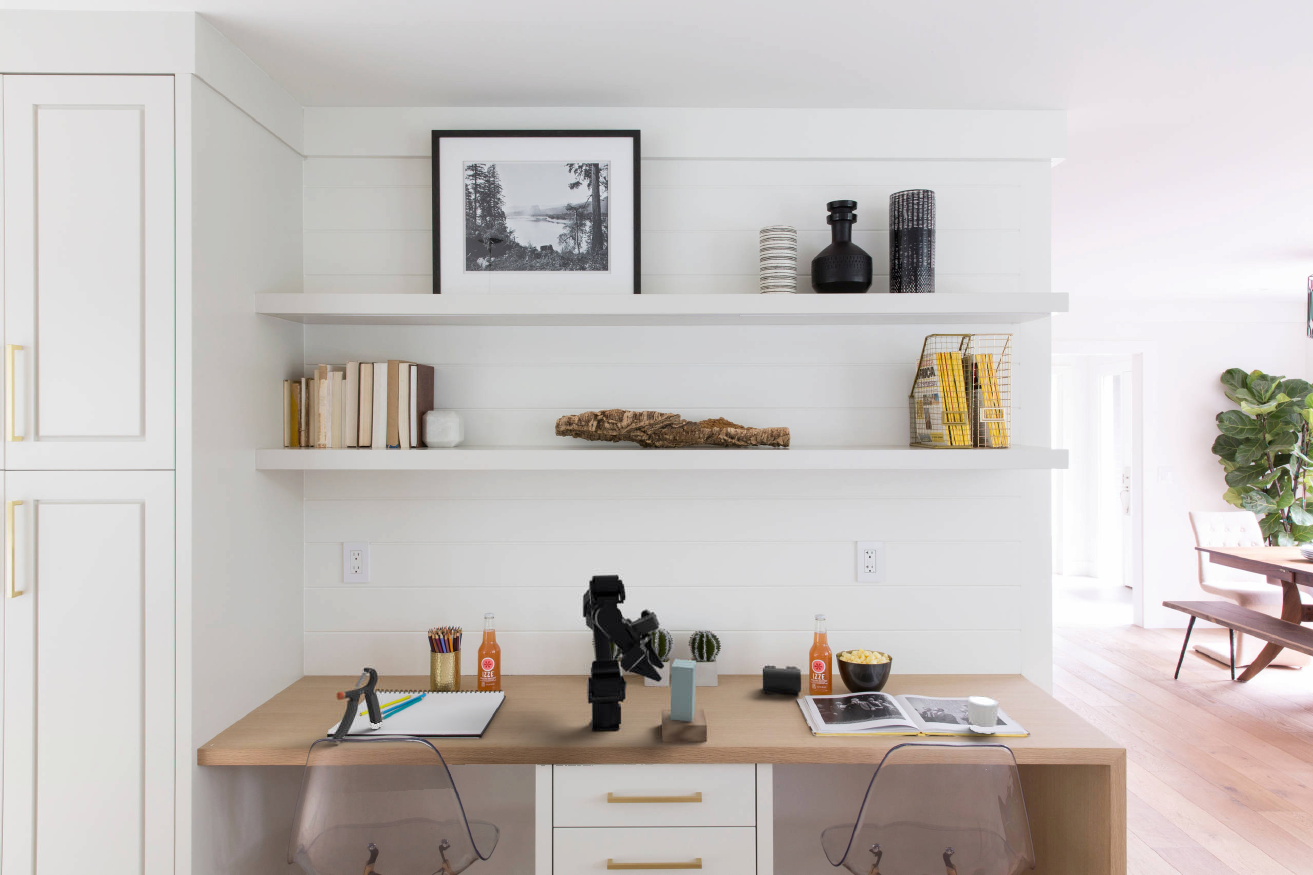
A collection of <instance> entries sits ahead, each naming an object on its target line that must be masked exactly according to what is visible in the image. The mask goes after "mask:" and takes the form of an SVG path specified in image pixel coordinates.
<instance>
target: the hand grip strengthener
mask: <svg viewBox="0 0 1313 875" xmlns="http://www.w3.org/2000/svg"><path fill="white" fill-rule="evenodd" d="M367 674H369V679H368V681H367V683H366V684H365V685H364V686H362V684H363V682H364V681H365V679H366V677H367ZM378 676H379V675H378V672H377V671H376V669H375V668H372V667H364V668H363V672H362V673H361V675H360V677H359V679H358V680H357V682H356V684H355V689H352V690H347V691H339V692H337V693H336V698H337V700H338V701H339V700H340V701H342V700H345V699H348V700H347V703H346V710H345V713H344V715H343V717H342V719H341V721H340V723H339V725H338V727H337V729H336V731H335V732H334V733H333V735H332V737H331V738H332V739H343V737H344V736H345V735H346V734H347V735H348V733H349V732H350V730H351V727H352V725H353V723H354V720H355V718H356V716H357V712H358V710H359V702H360V698H361V695H362V694H363V695H364V699H365V700H364V701H365V703H366V708H367V713H368V718H369V723H370V722H371V723H374V724H377V723H380V722H382V723H383V718H382V711H381V706H380V702H379V697H378V694H377V693H376V692H375V687H376V685H377V683H378V681H379V680H378V679H379V678H378ZM361 686H362V687H361ZM347 735H346V736H347ZM343 740H344V739H343Z"/></svg>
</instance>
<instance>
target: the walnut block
mask: <svg viewBox="0 0 1313 875" xmlns="http://www.w3.org/2000/svg"><path fill="white" fill-rule="evenodd" d="M670 715H671V708H669V709H668V708H667V709H661V735H662V736H661V737H662V738H661V739H662V742H707V741H708V735H707V734H708V724H707V721H706V720H707V719H706V715H705V710H704V709H703V708H702V709H701V708H700V709H699V708H695V714H694V717H693V720H692V722H689V721H679V720H670Z"/></svg>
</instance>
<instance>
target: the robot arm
mask: <svg viewBox="0 0 1313 875" xmlns="http://www.w3.org/2000/svg"><path fill="white" fill-rule="evenodd" d="M619 577H620V576H619V575H618V574H607V575H605V574H603V575H600V574H599V575H598V574H597V575H592V576H591V579H590V580H589V581H588V588H587V590H586V592H584V594H583V596H582V618H585V626H586V627H587V628H589V629H590V630H592V640H593V642H592V643H593V653H594V660H592V663H591V667H590V676H589V677H587V686H586V687H587V688H586V693H587V694H586V695H587V697H586V698H587V703H588V704H589V705H590V704H591V720H590V721H591V722H590V723H591V731H593V732H594V731H595V732H596V731H597V732H598V731H599V732H600V731H613V730H614V731H617V730H620V725H621V724H622V705H621V703H624V701H625V700H626V693H627V692H626V690H627V689H626V688H627V681H626V680H625V678H624V675H622V674H621V669H622V670H623V671H624V672H629V673H632V674H636V675H640V676H642V677H644V678H646V679H650V680H652V681H655V682H659V683H660V681H661V680H662V676H661V675H660V673H659V672H658V670H657V669H656V668H658V669H660V670H662V669H663V668H665V665H664V663H663V661H662V659H661V658H660V656H659V654H658V653H657V651H656V649H655V648H654V646H653V635H652V632H655V631H656V630H658V629H659V628H660V622H659V620H658V618H657V614H656V613H655V612H654V611H652V612H651V611H650V610H649V609H648V608H647V609H644V610H642V611H641V613H640V617H638V618H637V619H635V620H634V621H633V620H632V619H631V618H628V617H627V618H625V617H624V616H623V614H622V611H621V610H620V608H619V607H618V604H619V605H621V604H624V602H625V601H626V598H627V597H626V595H627V594H626V590H625V584H624V583H623V580H622V579H620V578H619ZM611 643H613V644H615V645H616V647H617V648H618V649H619V650H620V655H622V656H621V658H620V662H619V661H618V659H613V656H612V655H613V654H612V647H611ZM620 667H621V668H620ZM619 702H621V703H619Z"/></svg>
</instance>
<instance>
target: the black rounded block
mask: <svg viewBox="0 0 1313 875" xmlns="http://www.w3.org/2000/svg"><path fill="white" fill-rule="evenodd" d="M762 691H763V693H765V694H778V695H779V694H780V695H781V694H783V695H799V694H800V693H801V692H802V671H801V669H800V668H798V667H797V666H794V665H793V666H789V665H787V666H786V667H785V668H783V667H782V668H780V667H779V668H778V667H776V665H765V666H764V667H763V668H762Z"/></svg>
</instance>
